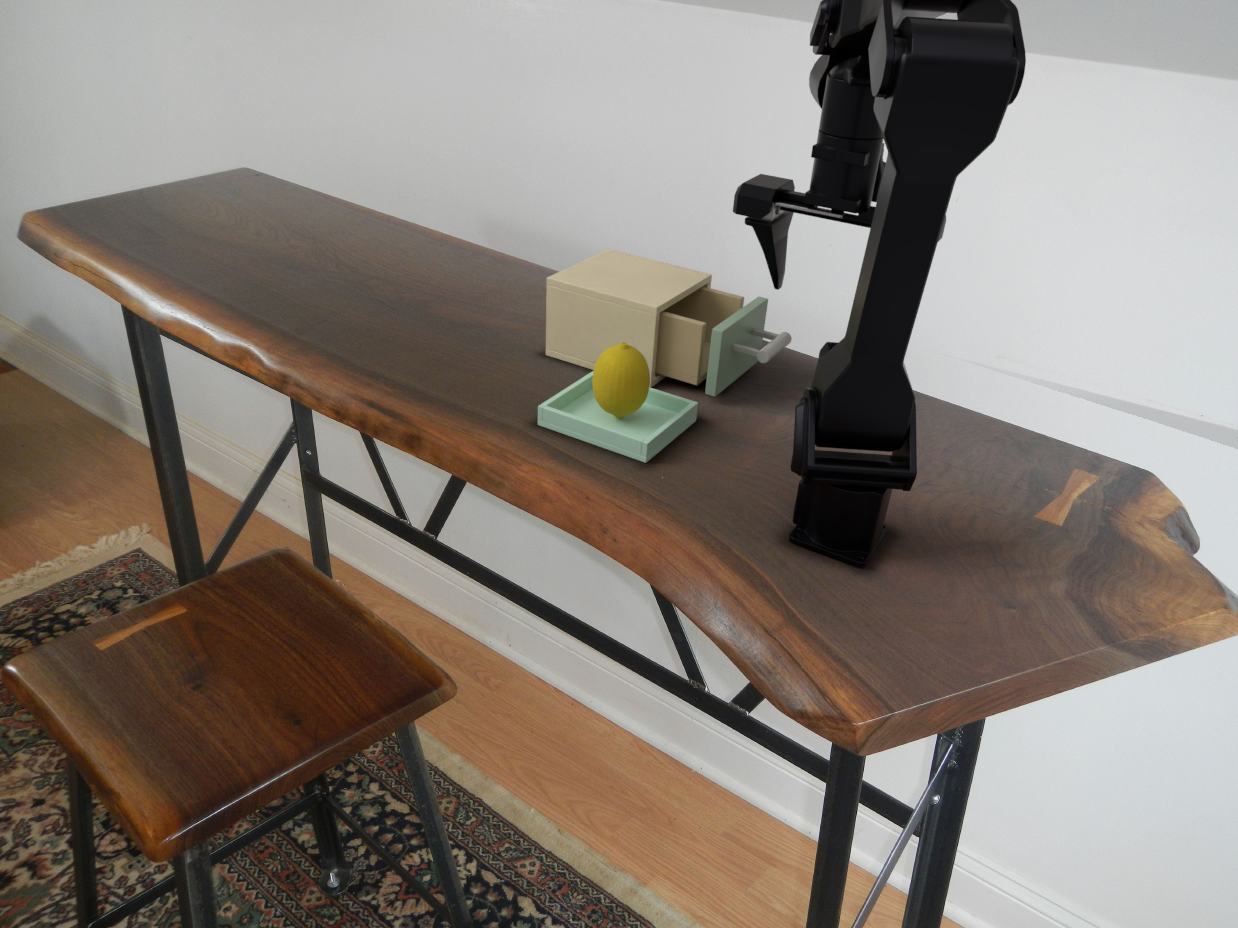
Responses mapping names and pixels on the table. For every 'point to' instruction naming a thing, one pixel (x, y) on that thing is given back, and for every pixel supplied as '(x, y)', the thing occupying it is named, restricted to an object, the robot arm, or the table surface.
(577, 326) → the cabinet
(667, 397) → the tray
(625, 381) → the lemon
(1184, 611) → the table surface
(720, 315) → the drawer
